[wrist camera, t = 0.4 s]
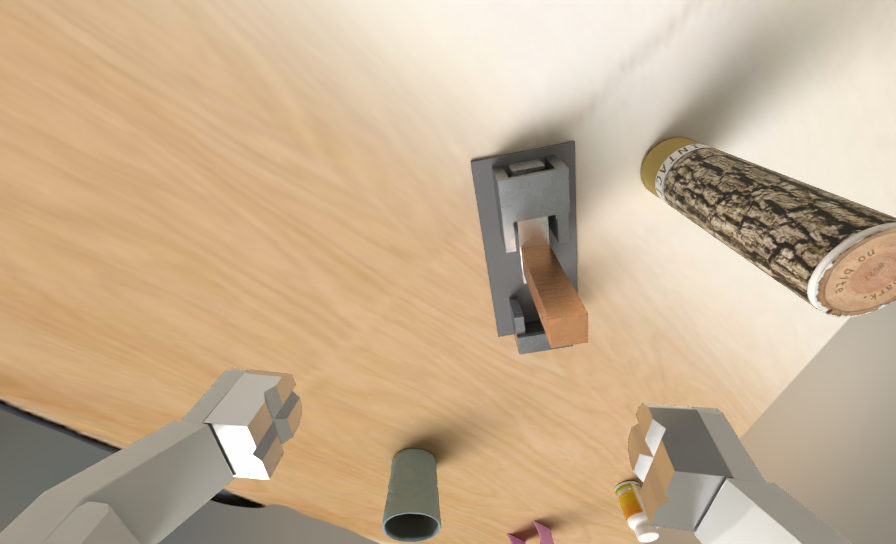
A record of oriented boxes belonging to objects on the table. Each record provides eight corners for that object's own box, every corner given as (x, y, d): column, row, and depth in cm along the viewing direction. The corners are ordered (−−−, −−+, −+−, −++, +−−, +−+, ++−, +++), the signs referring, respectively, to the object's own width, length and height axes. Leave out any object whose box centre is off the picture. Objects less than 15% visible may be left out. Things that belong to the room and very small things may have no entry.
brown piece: (508, 164, 44) (542, 223, 30) (539, 158, 44) (588, 215, 29) (519, 272, 52) (551, 361, 37) (546, 268, 52) (588, 355, 37)
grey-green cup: (407, 439, 71) (402, 506, 61) (451, 457, 74) (453, 524, 64) (379, 466, 75) (370, 533, 65) (421, 482, 78) (419, 548, 68)
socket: (508, 297, 54) (515, 321, 50) (560, 288, 54) (572, 311, 49) (512, 330, 57) (519, 355, 53) (562, 322, 57) (573, 347, 52)
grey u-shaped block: (491, 167, 44) (497, 181, 40) (554, 154, 44) (568, 167, 39) (500, 235, 49) (507, 255, 44) (557, 224, 49) (570, 243, 44)
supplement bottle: (610, 493, 82) (630, 544, 74) (619, 479, 80) (640, 530, 71) (634, 494, 83) (656, 545, 75) (643, 480, 80) (667, 531, 72)
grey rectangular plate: (470, 161, 44) (470, 162, 44) (573, 141, 44) (574, 141, 43) (498, 334, 58) (498, 336, 58) (576, 322, 57) (577, 323, 57)
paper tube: (709, 149, 44) (961, 248, 23) (670, 200, 48) (861, 329, 26) (663, 125, 43) (887, 208, 22) (626, 180, 46) (790, 299, 25)
